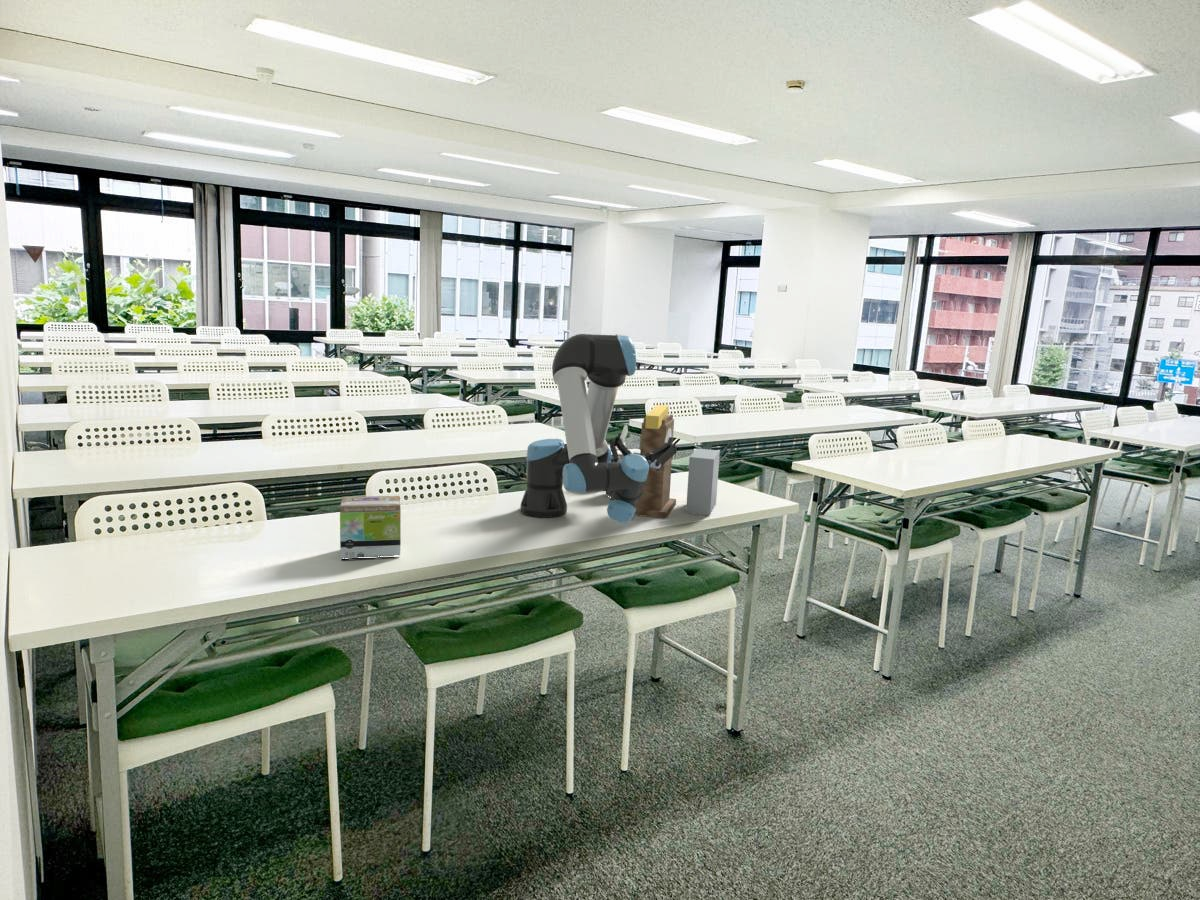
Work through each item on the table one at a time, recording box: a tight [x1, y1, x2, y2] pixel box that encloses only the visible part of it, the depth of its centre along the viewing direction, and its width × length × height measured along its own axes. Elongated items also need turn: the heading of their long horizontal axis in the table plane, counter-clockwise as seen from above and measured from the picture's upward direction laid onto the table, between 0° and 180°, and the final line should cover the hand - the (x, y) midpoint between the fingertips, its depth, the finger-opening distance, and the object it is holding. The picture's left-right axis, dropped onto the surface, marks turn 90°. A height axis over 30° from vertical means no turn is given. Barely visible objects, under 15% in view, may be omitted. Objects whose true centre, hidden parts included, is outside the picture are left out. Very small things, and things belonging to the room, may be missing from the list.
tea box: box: [339, 495, 402, 559], centre depth 195 cm, size 15×10×15 cm, turn 106°
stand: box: [634, 413, 677, 519], centre depth 246 cm, size 12×18×32 cm, turn 164°
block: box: [645, 404, 669, 429], centre depth 240 cm, size 4×26×4 cm, turn 168°
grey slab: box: [685, 448, 721, 516], centre depth 251 cm, size 8×16×19 cm, turn 164°
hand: (648, 429), depth 226 cm, fingers open, 13 cm apart
